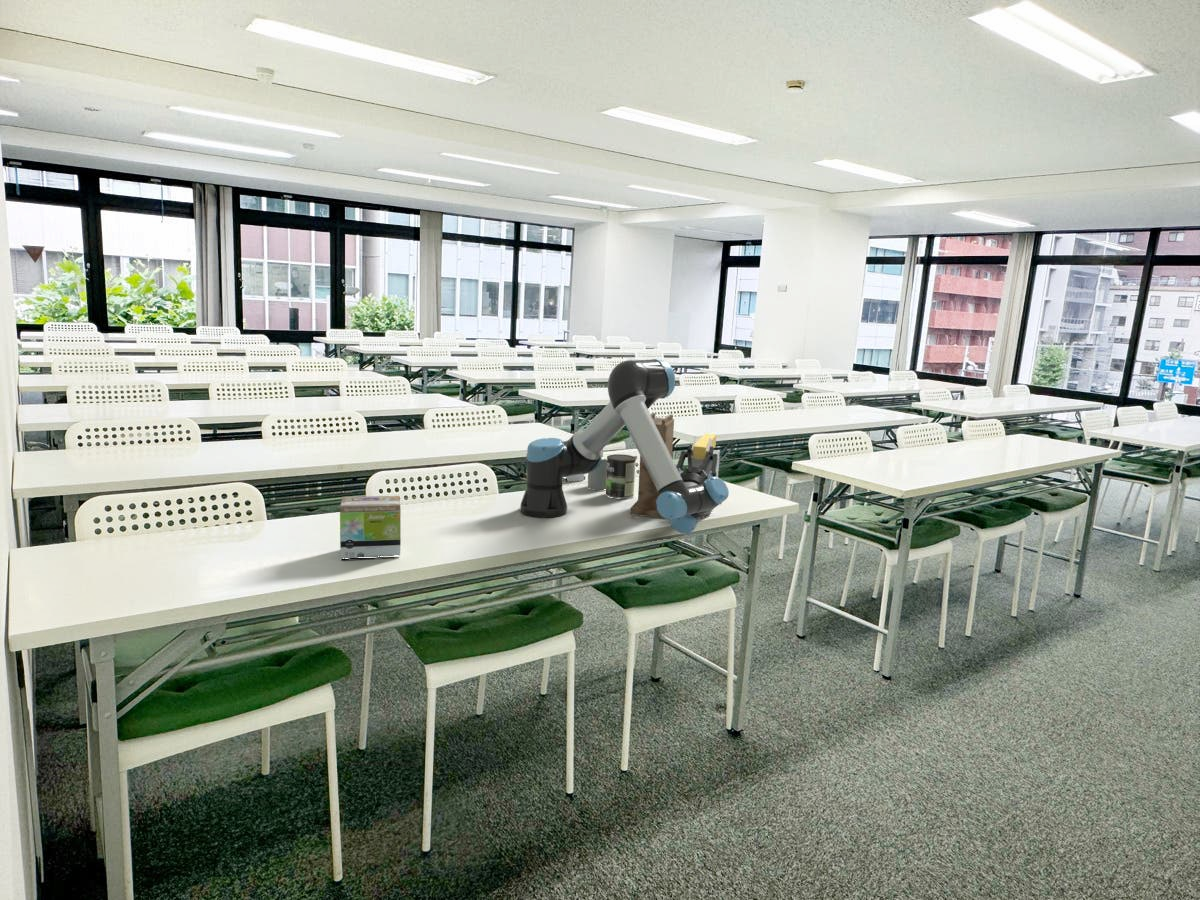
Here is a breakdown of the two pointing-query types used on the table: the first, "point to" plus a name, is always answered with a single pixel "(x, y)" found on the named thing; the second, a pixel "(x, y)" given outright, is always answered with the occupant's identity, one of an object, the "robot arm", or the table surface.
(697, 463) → the grey slab
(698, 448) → the block
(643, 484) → the stand
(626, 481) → the coffee can
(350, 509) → the tea box
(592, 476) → the cup
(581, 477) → the skincare box
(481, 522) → the table surface
